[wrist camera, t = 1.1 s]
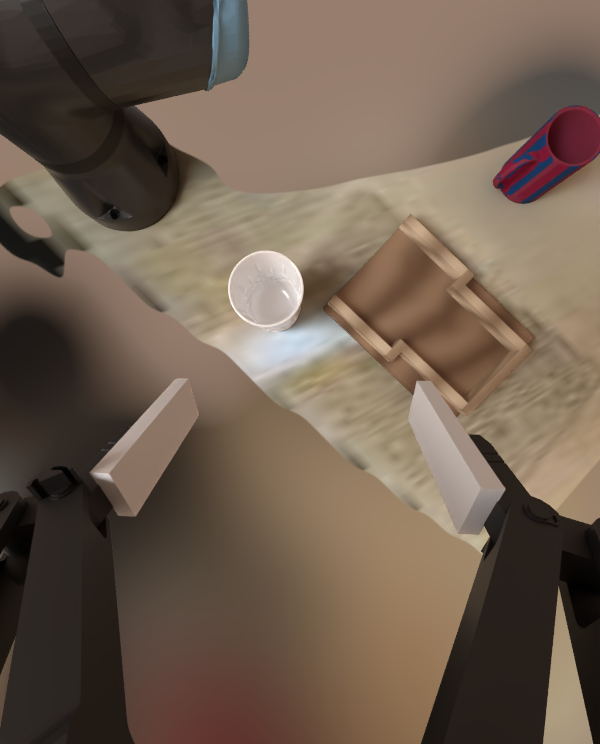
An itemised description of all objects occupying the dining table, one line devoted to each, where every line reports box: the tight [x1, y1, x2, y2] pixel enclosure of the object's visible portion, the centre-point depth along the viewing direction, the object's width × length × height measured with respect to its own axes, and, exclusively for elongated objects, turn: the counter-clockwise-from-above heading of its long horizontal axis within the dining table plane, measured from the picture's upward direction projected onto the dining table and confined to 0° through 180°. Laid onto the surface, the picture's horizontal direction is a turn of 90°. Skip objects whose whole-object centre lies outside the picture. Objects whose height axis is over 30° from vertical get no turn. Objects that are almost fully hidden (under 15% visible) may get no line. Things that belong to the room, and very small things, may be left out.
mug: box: [493, 106, 600, 204], centre depth 32 cm, size 7×10×7 cm
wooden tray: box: [323, 214, 534, 417], centre depth 35 cm, size 24×17×3 cm
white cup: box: [228, 251, 304, 332], centre depth 32 cm, size 8×8×10 cm
